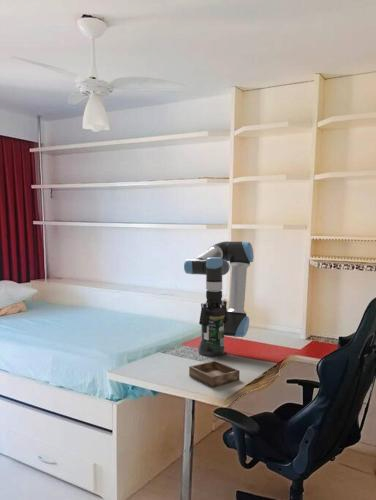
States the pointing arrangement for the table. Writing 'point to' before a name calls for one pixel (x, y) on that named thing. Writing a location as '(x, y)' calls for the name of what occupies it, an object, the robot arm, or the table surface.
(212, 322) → the coffee jar
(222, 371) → the walnut tray
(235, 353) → the table surface
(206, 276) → the robot arm
